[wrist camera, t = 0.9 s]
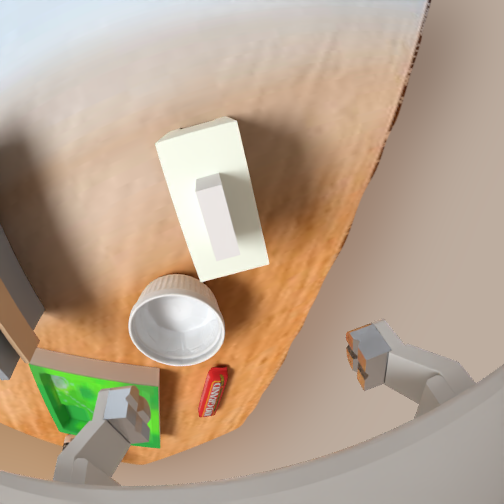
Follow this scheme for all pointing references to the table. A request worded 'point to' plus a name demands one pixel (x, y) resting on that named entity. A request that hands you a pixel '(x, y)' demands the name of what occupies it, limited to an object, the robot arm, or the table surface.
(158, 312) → the ramekin
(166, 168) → the off-white handled block
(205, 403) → the candy bar
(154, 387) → the tray
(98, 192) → the table surface
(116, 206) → the table surface
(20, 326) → the wall board
